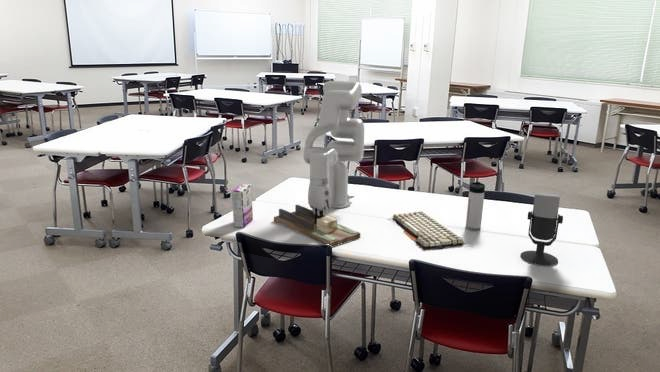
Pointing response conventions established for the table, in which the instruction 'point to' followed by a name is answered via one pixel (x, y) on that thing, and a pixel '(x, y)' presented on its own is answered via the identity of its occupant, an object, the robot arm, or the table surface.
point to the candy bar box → (242, 205)
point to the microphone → (543, 229)
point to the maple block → (326, 224)
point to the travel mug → (475, 206)
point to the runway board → (314, 227)
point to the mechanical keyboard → (427, 231)
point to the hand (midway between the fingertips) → (318, 223)
